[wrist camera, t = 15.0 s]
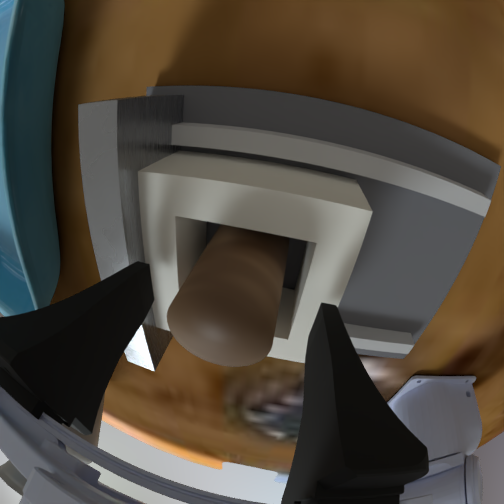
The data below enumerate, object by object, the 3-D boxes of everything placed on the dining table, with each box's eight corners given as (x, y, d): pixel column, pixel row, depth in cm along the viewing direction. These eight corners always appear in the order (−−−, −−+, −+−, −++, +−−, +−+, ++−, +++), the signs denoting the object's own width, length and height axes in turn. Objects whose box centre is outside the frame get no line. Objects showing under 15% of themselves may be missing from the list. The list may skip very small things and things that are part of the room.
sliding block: (356, 179, 12) (372, 211, 9) (314, 314, 17) (311, 364, 14) (179, 150, 13) (138, 171, 10) (181, 285, 18) (156, 326, 15)
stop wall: (184, 94, 12) (117, 99, 7) (184, 314, 20) (154, 371, 15) (151, 95, 12) (78, 104, 7) (161, 307, 20) (128, 361, 16)
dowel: (295, 213, 14) (282, 306, 8) (283, 275, 16) (264, 374, 10) (220, 201, 15) (160, 279, 9) (217, 262, 17) (172, 352, 11)
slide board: (493, 162, 10) (512, 172, 9) (401, 351, 19) (405, 370, 17) (154, 86, 12) (134, 87, 11) (162, 304, 21) (152, 321, 19)
